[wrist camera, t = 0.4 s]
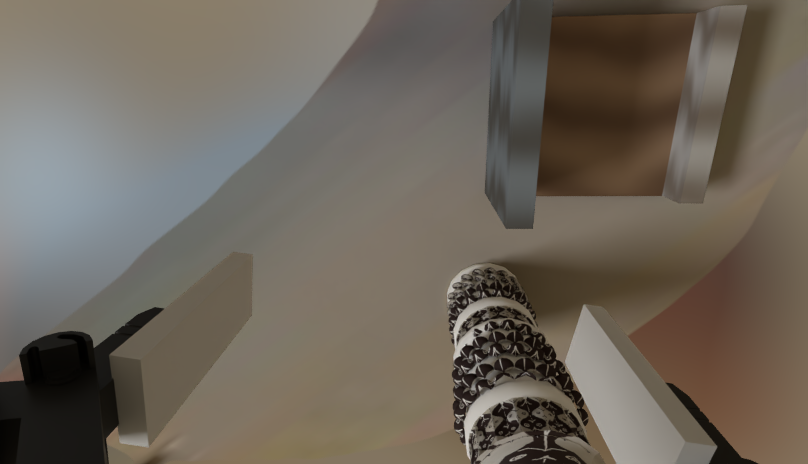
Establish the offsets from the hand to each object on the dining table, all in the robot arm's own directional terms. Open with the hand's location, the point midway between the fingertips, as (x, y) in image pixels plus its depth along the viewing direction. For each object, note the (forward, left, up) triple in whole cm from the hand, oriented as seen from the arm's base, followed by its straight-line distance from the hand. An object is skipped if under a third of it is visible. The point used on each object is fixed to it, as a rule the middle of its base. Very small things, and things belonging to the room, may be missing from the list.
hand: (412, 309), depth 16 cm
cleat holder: (-6, +16, -27) cm, 32 cm away
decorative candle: (+14, +7, -28) cm, 32 cm away
